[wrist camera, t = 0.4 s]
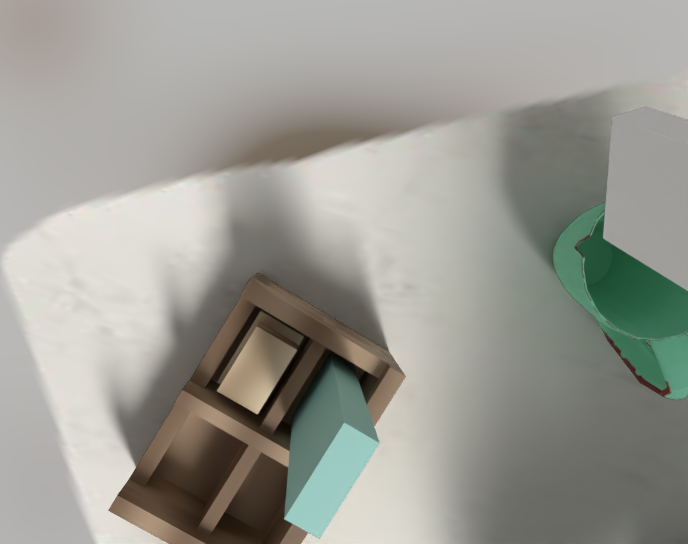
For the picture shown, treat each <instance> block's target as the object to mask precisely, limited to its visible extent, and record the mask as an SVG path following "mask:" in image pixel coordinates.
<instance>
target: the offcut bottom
mask: <svg viewBox="0 0 688 544" xmlns="http://www.w3.org/2000/svg"><path fill="white" fill-rule="evenodd" d="M259 322H261V323H263V324H264V325H266V326H268V327H269V328H271V329H273V330H274V331H276V332H278V333H279V334H281V335H283V336H284V337H286V338H288V339H289V340H291V341H293V342H295V343H296V344H298V346H299V344H300V343H301V341H302V339H303V338H304V334H303V333H301V332H300V331H298V330H296V329H295V328H293V327H291V326H290V325H288V324H286V323H285V322H283V321H281V320H280V319H278V318H276V317H275V316H273V315H271V314H270V313H268V312H266V311H265V310H263V309H261V311H260V313H259V314H258V316H257V318H256V319H255V321H254V322H253V324H252V326H251V327H250V329H249V331H248V332H247V334H246V335H245V337H244V339H243V340H242V342H241V344H240V345H239V347H238V349H237V350H236V352H235V353H234V355H233V357H232V358H231V360H230V362H229V363H228V365H227V366H226V368H225V370H224V371H223V373H222V375H221V376H220V378H219V380H218V381H217V383H219V384H221V383H222V381H223V380H224V378H225V376H226V375H227V373H228V371H229V370H230V368H231V367H232V365H233V363H234V362H235V360H236V358H237V357H238V355H239V354H240V352H241V350H242V349H243V347H244V345H245V344H246V342H247V341H248V339H249V337H250V336H251V334H252V332H253V331H254V329H255V328H256V326H257V324H258V323H259Z"/></svg>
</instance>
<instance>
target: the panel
mask: <svg viewBox="0 0 688 544" xmlns="http://www.w3.org/2000/svg"><path fill="white" fill-rule="evenodd" d="M378 445H379V440H378V437H377V434H376V431H375V428H374V425H373V422H372V419H371V416H370V413H369V410H368V407H367V404H366V401H365V398H364V396H363V393H362V390H361V387H360V384H359V381H358V378H357V375H356V372H355V369H354V366H353V365H352V364H351V363H349V362H347V361H346V360H344V359H342V358H341V357H339V356H337V355H336V354H334V353H332V352H330V354H329V355H328V357H327V359H326V360H325V362H324V363H323V365H322V367H321V368H320V370H319V371H318V373H317V375H316V376H315V378H314V380H313V381H312V383H311V384H310V386H309V388H308V389H307V391H306V392H305V394H304V396H303V397H302V399H301V401H300V402H299V404H298V405H297V407H296V409H295V410H294V412H293V415H292V428H291V440H290V452H289V465H288V477H287V489H286V502H285V514H284V519H285V520H287V521H289V522H290V523H292V524H294V525H296V526H298V527H299V528H301V529H303V530H305V531H306V532H308V533H310V534H312V535H314V536H315V537H317V538H319V539H320V537H321V536H322V534H323V533H324V531H325V529H326V528H327V526H328V525H329V523H330V521H331V520H332V518H333V517H334V515H335V513H336V512H337V510H338V509H339V507H340V506H341V504H342V502H343V501H344V499H345V498H346V496H347V494H348V493H349V491H350V490H351V488H352V486H353V485H354V483H355V482H356V480H357V478H358V477H359V475H360V474H361V472H362V470H363V469H364V467H365V466H366V464H367V462H368V461H369V459H370V458H371V456H372V454H373V453H374V451H375V450H376V448H377V446H378Z"/></svg>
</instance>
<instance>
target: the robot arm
mask: <svg viewBox="0 0 688 544" xmlns="http://www.w3.org/2000/svg"><path fill="white" fill-rule="evenodd" d="M603 239H605V240H606V241H608V242H610V243H611V244H613V245H614V246H616V247H618V248H619V249H621V250H623V251H624V252H626V253H627V254H629V255H631V256H632V257H634V258H635V259H637V260H639V261H640V262H642V263H644V264H645V265H647V266H648V267H650V268H652V269H653V270H655V271H656V272H658V273H660V274H661V275H663V276H664V277H666V278H668V279H669V280H671V281H673V282H674V283H676V284H677V285H679V286H681V287H682V288H684V289H685V290H687V291H688V120H687V119H683V118H680V117H677V116H674V115H671V114H667V113H664V112H661V111H658V110H654V109H651V108H648V107H643V108H640V109H636V110H633V111H630V112H626V113H623V114H620V115H616V116H613V117H612V126H611V139H610V152H609V166H608V179H607V192H606V205H605V218H604V231H603Z"/></svg>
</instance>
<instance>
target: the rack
mask: <svg viewBox="0 0 688 544" xmlns="http://www.w3.org/2000/svg"><path fill="white" fill-rule="evenodd" d="M240 296H241V297H240V299H239V301H238V302H237V304H236V305H235V307H234V309H233V310H232V312H231V314H230V315H229V317H228V318H227V320H226V322H225V323H224V325H223V327H222V328H221V330H220V332H219V333H218V335H217V336H216V338H215V340H214V341H213V343H212V345H211V346H210V348H209V349H208V351H207V353H206V354H205V356H204V358H203V359H202V361H201V363H200V364H199V366H198V367H197V369H196V371H195V372H194V374H193V376H192V377H191V379H190V380H189V382H188V383H187V384H186V385H185V387H184V388H183V389H182V391H181V392H180V394H179V396H178V397H177V399H176V401H175V402H174V403H175V405H174V407H173V408H172V410H171V412H170V413H169V415H168V416H167V418H166V420H165V421H164V423H163V425H162V426H161V428H160V429H159V431H158V433H157V434H156V436H155V438H154V439H153V441H152V443H151V444H150V446H149V447H148V449H147V451H146V452H145V454H144V456H143V457H142V459H141V460H140V462H139V464H138V465H137V467H136V469H135V470H134V472H133V474H132V475H131V477H130V478H129V480H128V481H127V483H126V484H125V486H124V487H123V488H122V490H121V491H120V492H119V494H118V495H117V497H116V499H115V500H114V502H113V503H112V505H111V507H110V508H109V510H108V511H110V512H112V513H114V514H115V515H117V516H119V517H121V518H123V519H125V520H126V521H128V522H130V523H132V524H134V525H136V526H137V527H139V528H141V529H143V530H145V531H147V532H148V533H150V534H152V535H154V536H156V537H158V538H159V539H161V540H163V541H165V542H167V543H169V544H301V543H302V541H303V540H304V538H305V537H306V535H307V533H308V532H306V531H305V530H303V529H301V528H299V527H298V526H296V525H294V524H292V523H290V522H289V521H287V520H285V519H284V514H285V502H286V489H287V477H288V465H289V452H290V440H291V428H292V415H293V412H294V410H295V409H296V407H297V405H298V404H299V402H300V401H301V399H302V397H303V396H304V394H305V392H306V391H307V389H308V388H309V386H310V384H311V383H312V381H313V380H314V378H315V376H316V375H317V373H318V371H319V370H320V368H321V367H322V365H323V363H324V362H325V360H326V359H327V357H328V355H329V354H330V352H332V353H334V354H336V355H337V356H339V357H341V358H342V359H344V360H346V361H347V362H349V363H351V364H352V365H353V366H354V369H355V372H356V375H357V378H358V381H359V384H360V387H361V390H362V393H363V396H364V398H365V401H366V404H367V407H368V410H369V413H370V416H371V419H372V422H373V425H374V426H375V425H376V423H377V421H378V420H379V418H380V417H381V415H382V414H383V412H384V410H385V409H386V407H387V406H388V404H389V402H390V401H391V399H392V398H393V396H394V394H395V393H396V391H397V390H398V388H399V386H400V385H401V383H402V382H403V380H404V378H405V377H406V376H405V375H404V373H403V372H402V370H401V369H400V367H399V366H398V364H397V363H396V361H395V360H394V358H393V357H392V355H391V354H390V352H388V351H387V350H385V349H383V348H382V347H380V346H378V345H377V344H375V343H373V342H372V341H370V340H368V339H367V338H365V337H364V336H362V335H360V334H359V333H357V332H355V331H354V330H352V329H350V328H349V327H347V326H345V325H344V324H342V323H340V322H339V321H337V320H335V319H334V318H332V317H330V316H329V315H327V314H325V313H324V312H322V311H321V310H319V309H317V308H316V307H314V306H312V305H311V304H309V303H307V302H306V301H304V300H302V299H301V298H299V297H297V296H296V295H294V294H292V293H291V292H289V291H287V290H286V289H284V288H282V287H281V286H279V285H277V284H276V283H274V282H273V281H271V280H269V279H268V278H266V277H264V276H263V275H261V274H259V273H257V274H256V275H255V276H253V277H252V278H251V279H250V280H249V281H248V283H247V285H246V286H245V288H244V290H243V291H242V293H241V295H240ZM261 309H263V310H265V311H266V312H268V313H270V314H271V315H273V316H275V317H276V318H278V319H280V320H281V321H283V322H285V323H286V324H288V325H290V326H291V327H293V328H295V329H296V330H298V331H300V332H301V333H303V334H304V338H303V339H302V341H301V343H300V344H299V346H298V347H297V351H296V353H295V355H294V356H293V358H292V360H291V361H290V363H289V364H288V366H287V368H286V369H285V371H284V372H283V374H282V376H281V377H280V379H279V381H278V382H277V384H276V385H275V387H274V389H273V390H272V392H271V394H270V395H269V397H268V398H267V400H266V402H265V403H264V405H263V406H262V408H261V410H260V411H259V413H258V415H257V414H256V413H254V412H252V411H250V410H249V409H247V408H245V407H243V406H242V405H240V404H238V403H237V402H235V401H233V400H231V399H230V398H228V397H226V396H224V395H223V394H221V393H219V392H218V391H217V390H218V388H219V386H220V385H221V384H219V383H217V381H218V380H219V378H220V376H221V375H222V373H223V371H224V370H225V368H226V366H227V365H228V363H229V362H230V360H231V358H232V357H233V355H234V353H235V352H236V350H237V349H238V347H239V345H240V344H241V342H242V340H243V339H244V337H245V335H246V334H247V332H248V331H249V329H250V327H251V326H252V324H253V322H254V321H255V319H256V318H257V316H258V314H259V313H260V311H261Z"/></svg>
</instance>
